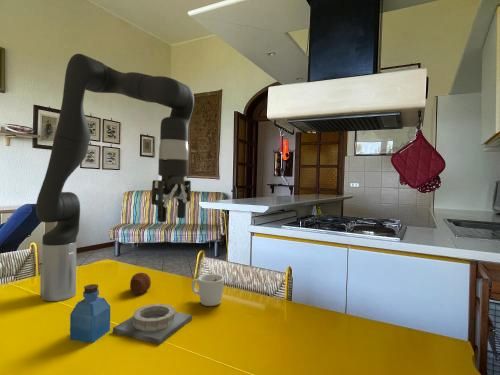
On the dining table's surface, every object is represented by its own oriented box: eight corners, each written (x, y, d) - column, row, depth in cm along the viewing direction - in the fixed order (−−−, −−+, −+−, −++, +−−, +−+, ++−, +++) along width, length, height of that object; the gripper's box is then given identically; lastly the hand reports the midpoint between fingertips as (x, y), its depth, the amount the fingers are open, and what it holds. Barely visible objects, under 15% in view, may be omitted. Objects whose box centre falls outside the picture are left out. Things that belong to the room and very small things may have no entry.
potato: (123, 295, 101) (123, 276, 101) (136, 286, 110) (137, 268, 110) (143, 297, 100) (144, 277, 100) (155, 287, 109) (155, 269, 109)
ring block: (112, 332, 77) (113, 318, 77) (150, 310, 90) (150, 298, 90) (159, 344, 72) (159, 329, 72) (191, 319, 85) (192, 306, 85)
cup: (184, 304, 95) (185, 278, 95) (198, 295, 103) (198, 271, 102) (215, 310, 91) (216, 283, 91) (227, 300, 99) (228, 275, 98)
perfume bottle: (93, 343, 72) (93, 292, 72) (70, 339, 73) (70, 289, 73) (110, 330, 78) (110, 283, 78) (88, 327, 79) (89, 281, 79)
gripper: (176, 159, 89) (175, 215, 90) (143, 156, 76) (142, 222, 76) (199, 160, 87) (198, 217, 87) (169, 156, 73) (167, 224, 74)
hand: (171, 219), depth 82 cm, fingers open, 8 cm apart
